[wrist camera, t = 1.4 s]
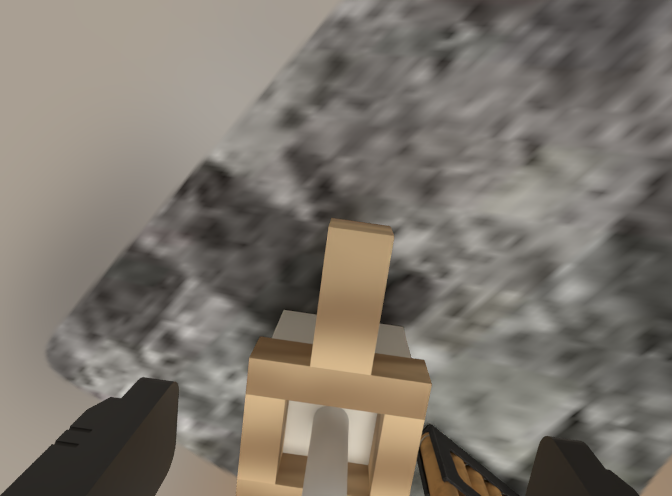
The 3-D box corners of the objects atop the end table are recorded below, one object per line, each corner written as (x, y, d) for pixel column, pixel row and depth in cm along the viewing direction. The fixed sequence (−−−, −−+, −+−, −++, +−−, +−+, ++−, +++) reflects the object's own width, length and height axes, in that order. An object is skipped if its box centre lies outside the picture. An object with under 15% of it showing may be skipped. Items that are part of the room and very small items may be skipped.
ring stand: (283, 309, 30) (205, 490, 14) (403, 326, 30) (454, 526, 14) (271, 415, 32) (190, 676, 16) (384, 432, 32) (411, 710, 16)
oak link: (272, 209, 23) (263, 217, 21) (448, 234, 23) (460, 245, 20) (245, 476, 27) (234, 510, 24) (397, 499, 27) (401, 534, 24)
